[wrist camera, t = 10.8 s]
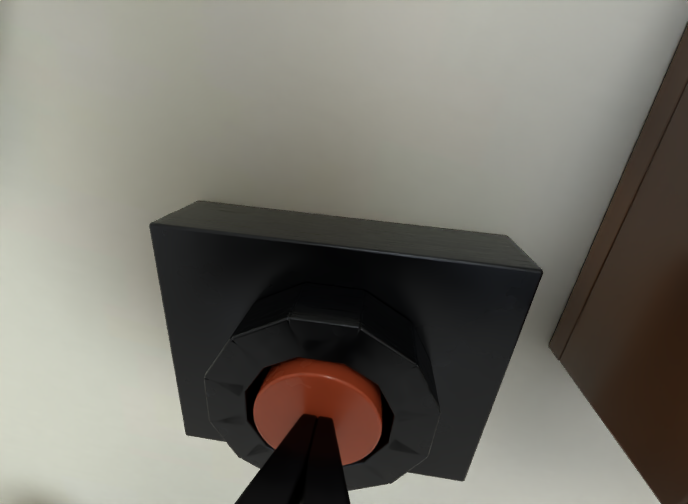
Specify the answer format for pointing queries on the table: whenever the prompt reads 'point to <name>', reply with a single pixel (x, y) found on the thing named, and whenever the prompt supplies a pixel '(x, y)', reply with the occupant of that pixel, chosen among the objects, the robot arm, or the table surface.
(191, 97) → the table surface
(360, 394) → the button
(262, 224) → the panel
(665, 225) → the box
